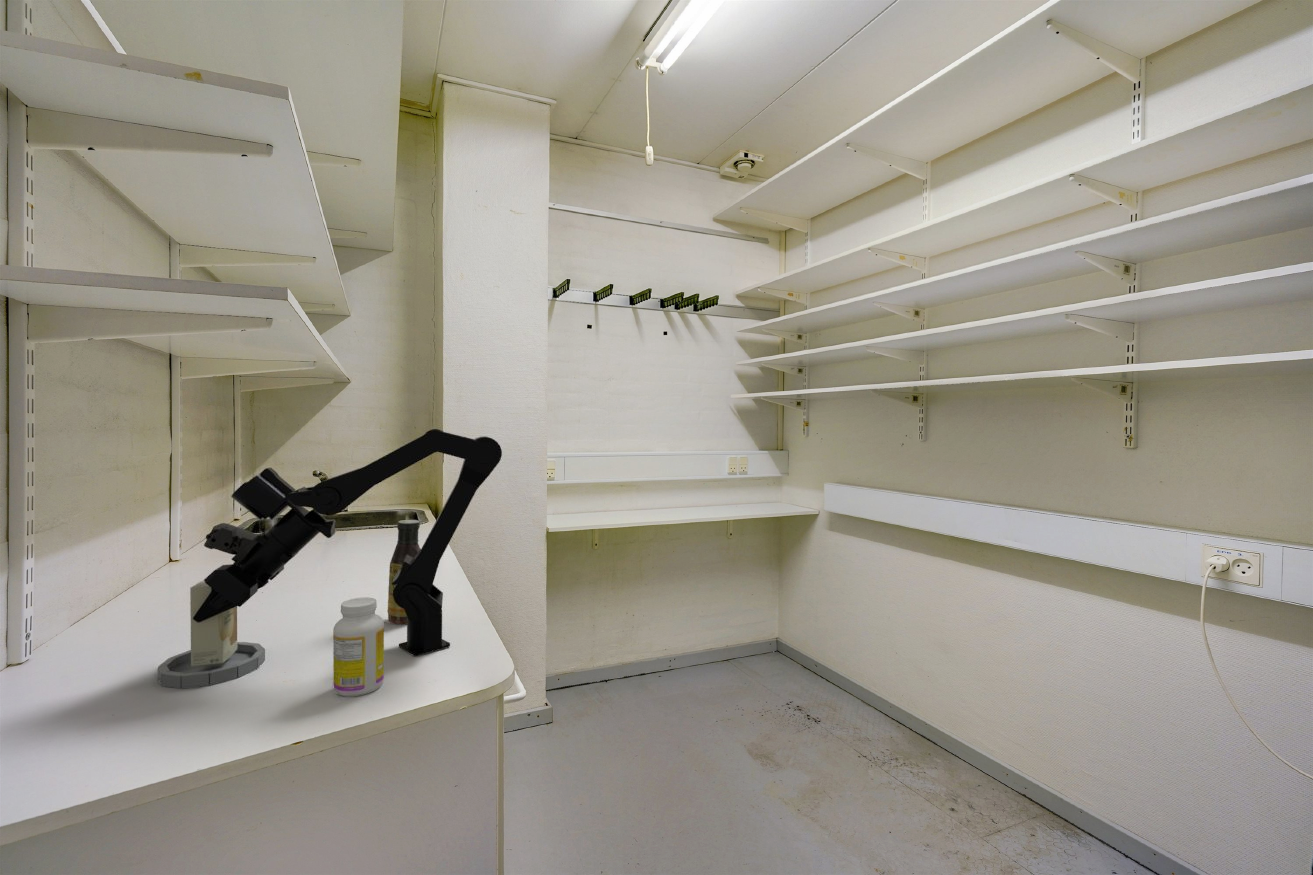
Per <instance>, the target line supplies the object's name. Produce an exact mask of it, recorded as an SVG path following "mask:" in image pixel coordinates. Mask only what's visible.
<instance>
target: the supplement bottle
mask: <svg viewBox="0 0 1313 875" xmlns="http://www.w3.org/2000/svg"><path fill="white" fill-rule="evenodd" d="M377 605H378V604H377V599H376V598H373V597H356V598H351V599H347V600H345V601H342V603H341V604H340V613H341V616H342V618H340V619H339V620H338V621H336V623H335V624H334V626H333V632H332V633H333V636H332V638H333V639H332V640H333V641H332V645H333V646H332V647H333V650H332V651H333V652H332V653H333V654H332V655H333V663H332V664H333V666H332V667H333V690H334V692H335V694H336V695H339V696H341V697H348V698H349V697H350V698H351V697H359V696H363V695H368V694H370V693H372V692H375V691H376V690H378V689H379V688H380V687H381V686H382V685H383V683H384V681H385V680H384V679H385V656H384V655H385V634H384V632H385V624H384V619H383V617H382V616H380V615H379V614H376V610H377V608H378V607H377Z"/></svg>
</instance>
